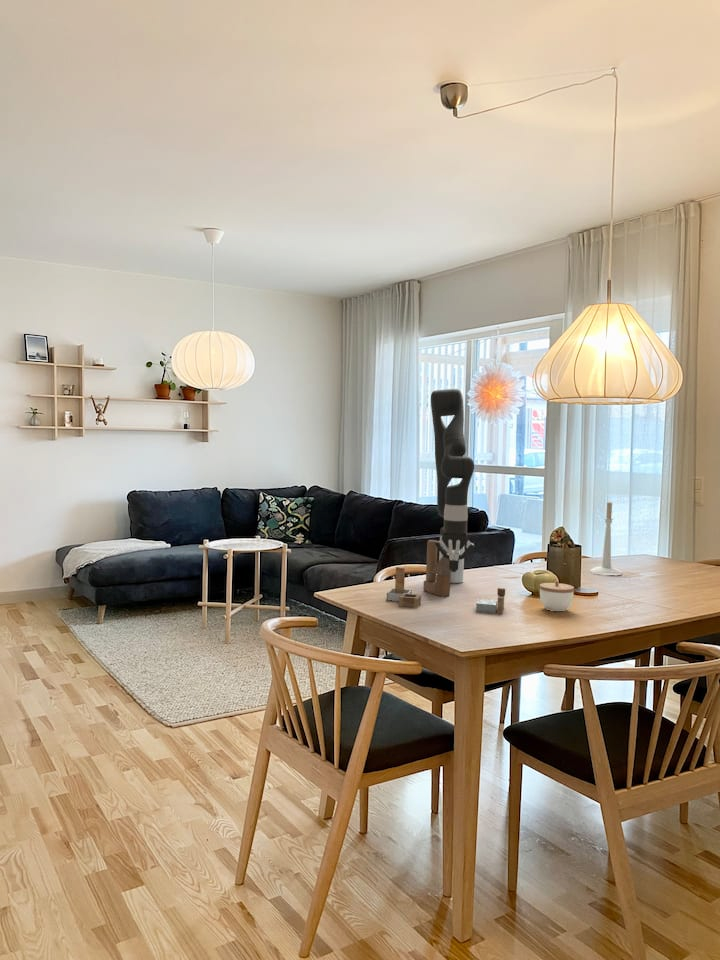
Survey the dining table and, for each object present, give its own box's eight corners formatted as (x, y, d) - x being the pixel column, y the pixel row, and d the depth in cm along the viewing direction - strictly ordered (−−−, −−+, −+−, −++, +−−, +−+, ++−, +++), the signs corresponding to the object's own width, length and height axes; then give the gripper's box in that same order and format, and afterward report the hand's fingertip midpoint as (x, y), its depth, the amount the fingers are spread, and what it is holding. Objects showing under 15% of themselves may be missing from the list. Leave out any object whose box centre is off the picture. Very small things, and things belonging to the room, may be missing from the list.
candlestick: (626, 576, 303) (630, 503, 301) (594, 575, 303) (598, 502, 302) (616, 571, 316) (620, 500, 314) (586, 569, 316) (589, 499, 314)
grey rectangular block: (477, 608, 240) (478, 598, 240) (496, 609, 239) (497, 600, 239) (476, 612, 234) (476, 603, 233) (495, 614, 232) (495, 605, 232)
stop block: (497, 607, 241) (498, 585, 240) (505, 607, 240) (506, 586, 240) (495, 613, 232) (496, 591, 232) (503, 614, 232) (504, 591, 231)
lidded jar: (568, 606, 245) (569, 578, 245) (576, 614, 234) (578, 584, 234) (535, 605, 245) (536, 577, 245) (542, 613, 235) (544, 583, 234)
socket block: (402, 602, 244) (402, 593, 244) (420, 603, 242) (421, 594, 242) (399, 606, 238) (399, 596, 238) (417, 607, 237) (418, 598, 236)
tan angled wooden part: (441, 597, 254) (443, 544, 253) (422, 590, 263) (424, 540, 262) (450, 596, 256) (452, 543, 254) (431, 590, 265) (433, 539, 264)
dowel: (395, 596, 251) (396, 566, 250) (404, 596, 250) (405, 567, 249) (394, 597, 248) (395, 567, 247) (402, 598, 247) (404, 568, 246)
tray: (391, 595, 253) (391, 588, 253) (411, 597, 252) (411, 589, 252) (386, 600, 246) (386, 592, 245) (407, 602, 244) (407, 594, 244)
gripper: (433, 518, 238) (431, 572, 239) (475, 521, 235) (473, 575, 236) (436, 515, 245) (434, 567, 246) (477, 517, 242) (475, 570, 243)
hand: (453, 571), depth 241 cm, fingers closed
